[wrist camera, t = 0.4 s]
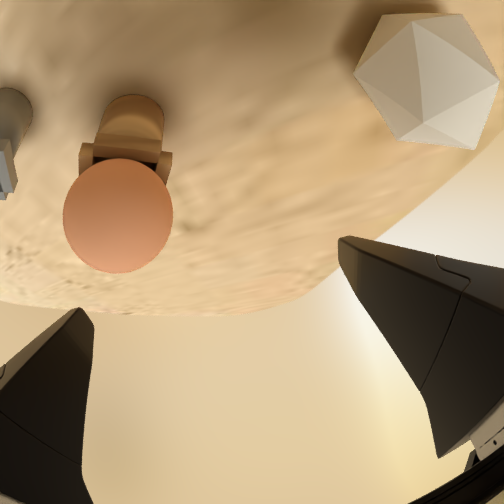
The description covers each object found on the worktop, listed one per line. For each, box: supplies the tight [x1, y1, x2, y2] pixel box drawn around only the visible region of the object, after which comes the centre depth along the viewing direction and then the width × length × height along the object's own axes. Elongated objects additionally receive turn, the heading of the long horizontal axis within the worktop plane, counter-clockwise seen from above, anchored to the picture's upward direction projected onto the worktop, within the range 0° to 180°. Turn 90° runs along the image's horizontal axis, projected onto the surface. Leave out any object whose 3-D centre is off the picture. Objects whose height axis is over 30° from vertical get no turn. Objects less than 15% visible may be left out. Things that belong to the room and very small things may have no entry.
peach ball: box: [63, 158, 173, 273], centre depth 15 cm, size 6×6×6 cm
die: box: [353, 13, 500, 150], centre depth 14 cm, size 8×9×10 cm
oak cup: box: [79, 95, 172, 186], centre depth 18 cm, size 5×5×6 cm
